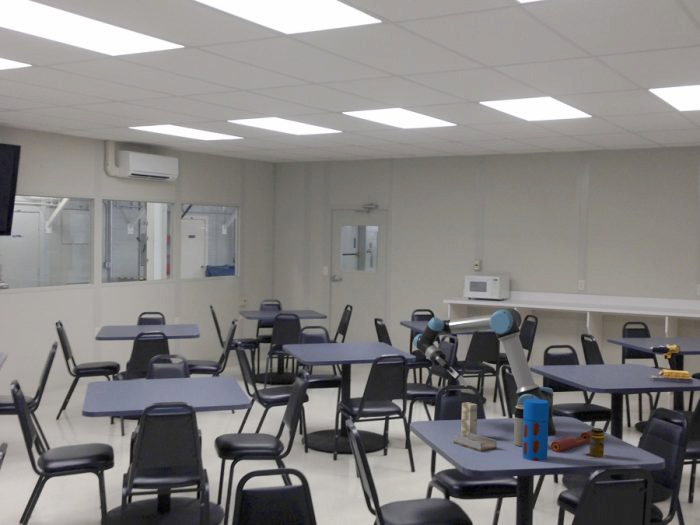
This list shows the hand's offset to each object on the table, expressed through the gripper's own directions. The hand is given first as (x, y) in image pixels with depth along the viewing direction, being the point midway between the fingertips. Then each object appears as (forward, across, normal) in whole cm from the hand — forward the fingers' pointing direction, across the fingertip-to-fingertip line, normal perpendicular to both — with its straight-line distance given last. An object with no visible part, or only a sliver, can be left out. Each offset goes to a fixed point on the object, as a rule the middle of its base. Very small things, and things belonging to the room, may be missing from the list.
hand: (462, 380), depth 387 cm
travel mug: (+43, -6, -3) cm, 44 cm away
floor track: (+33, +9, -18) cm, 39 cm away
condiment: (+70, -8, +15) cm, 73 cm away
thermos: (+58, +11, -3) cm, 59 cm away
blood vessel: (+56, -22, +14) cm, 62 cm away
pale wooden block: (+20, -5, -18) cm, 28 cm away
